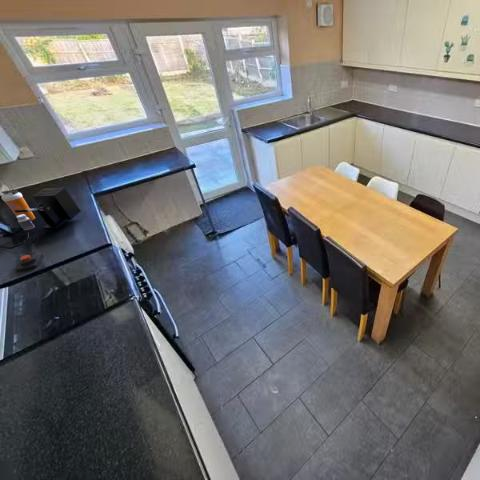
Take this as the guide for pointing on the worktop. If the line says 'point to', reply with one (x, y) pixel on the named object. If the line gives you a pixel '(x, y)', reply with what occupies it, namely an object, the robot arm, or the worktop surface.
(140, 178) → the worktop surface
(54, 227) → the lever bracket
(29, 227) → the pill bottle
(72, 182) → the worktop surface
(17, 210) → the toaster lever
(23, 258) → the timer button
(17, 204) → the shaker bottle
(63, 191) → the toaster
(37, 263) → the timer block
